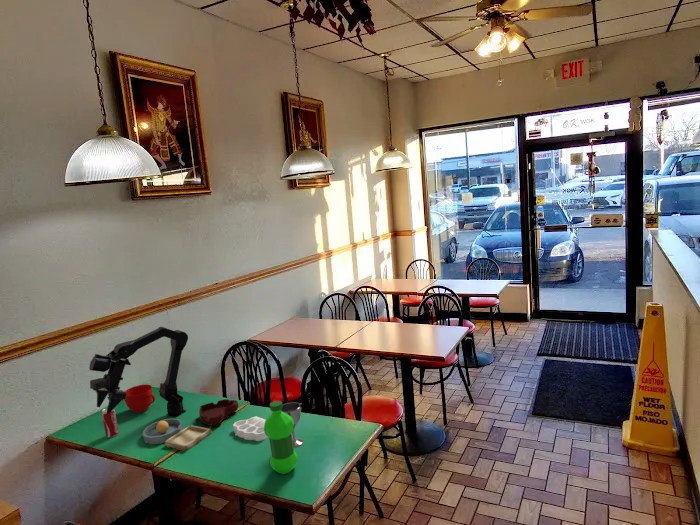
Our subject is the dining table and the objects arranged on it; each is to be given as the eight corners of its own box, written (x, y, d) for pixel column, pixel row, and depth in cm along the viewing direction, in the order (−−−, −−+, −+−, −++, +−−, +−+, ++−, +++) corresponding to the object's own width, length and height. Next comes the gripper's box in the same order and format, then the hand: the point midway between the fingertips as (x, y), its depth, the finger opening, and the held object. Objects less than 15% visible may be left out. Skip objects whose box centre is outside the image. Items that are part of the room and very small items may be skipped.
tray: (191, 429, 207) (190, 424, 207) (211, 433, 201) (210, 429, 201) (165, 446, 195) (164, 441, 195) (186, 451, 189) (185, 446, 189)
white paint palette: (281, 429, 199) (254, 446, 188) (253, 419, 211) (226, 435, 199) (280, 422, 199) (253, 438, 188) (252, 412, 210) (225, 427, 199)
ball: (164, 428, 209) (162, 417, 208) (172, 430, 206) (170, 419, 206) (154, 434, 204) (152, 423, 204) (162, 436, 202) (160, 425, 201)
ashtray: (214, 406, 228) (213, 396, 227) (242, 410, 221) (241, 400, 220) (188, 425, 212) (186, 414, 211) (217, 429, 205) (215, 418, 204)
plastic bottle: (270, 480, 164) (260, 412, 160) (271, 463, 175) (262, 399, 171) (299, 475, 165) (289, 408, 161) (299, 458, 176) (290, 395, 171)
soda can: (113, 438, 207) (108, 412, 205) (103, 438, 208) (98, 412, 206) (121, 432, 212) (116, 406, 210) (111, 431, 213) (106, 406, 211)
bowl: (165, 422, 216) (164, 416, 215) (190, 427, 208) (189, 421, 208) (136, 440, 203) (134, 433, 202) (161, 446, 195) (160, 439, 195)
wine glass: (288, 450, 182) (283, 414, 179) (281, 441, 189) (276, 406, 186) (307, 443, 185) (303, 407, 183) (300, 435, 192) (295, 400, 190)
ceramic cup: (145, 418, 223) (142, 398, 221) (120, 414, 230) (116, 394, 228) (167, 405, 234) (163, 386, 232) (142, 402, 241) (138, 383, 240)
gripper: (86, 366, 205) (74, 402, 202) (106, 377, 193) (93, 416, 191) (111, 369, 213) (100, 404, 211) (132, 379, 202) (120, 417, 199)
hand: (103, 410), depth 203 cm, fingers open, 9 cm apart
